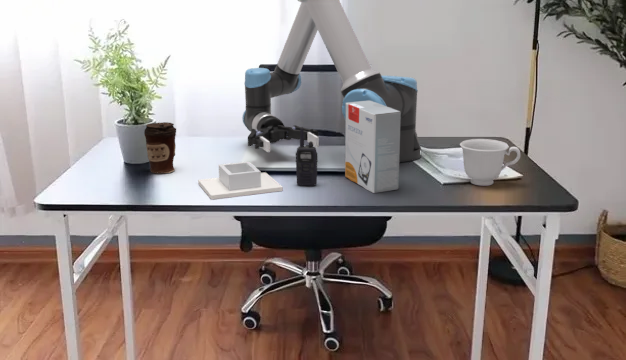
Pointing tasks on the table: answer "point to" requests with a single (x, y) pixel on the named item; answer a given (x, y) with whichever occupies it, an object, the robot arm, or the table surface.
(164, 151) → the coffee cup
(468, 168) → the teacup
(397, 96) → the robot arm
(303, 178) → the two-way radio
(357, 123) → the hard drive box
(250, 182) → the charging cradle
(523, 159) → the table surface
